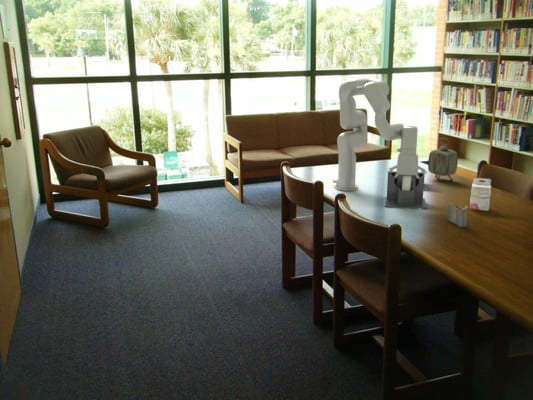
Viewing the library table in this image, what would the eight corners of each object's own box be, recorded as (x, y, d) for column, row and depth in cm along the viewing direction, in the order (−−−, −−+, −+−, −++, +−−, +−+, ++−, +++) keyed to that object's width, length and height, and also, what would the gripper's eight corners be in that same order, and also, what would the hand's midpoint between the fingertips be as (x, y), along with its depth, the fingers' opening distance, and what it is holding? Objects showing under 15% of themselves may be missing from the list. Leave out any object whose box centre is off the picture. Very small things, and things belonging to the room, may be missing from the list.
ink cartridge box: (469, 209, 259) (472, 179, 255) (469, 206, 264) (472, 177, 260) (488, 210, 257) (492, 181, 252) (488, 208, 261) (491, 178, 257)
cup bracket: (384, 198, 279) (385, 170, 275) (424, 200, 275) (426, 171, 271) (384, 207, 265) (386, 177, 261) (426, 208, 261) (428, 179, 257)
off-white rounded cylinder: (399, 198, 267) (401, 175, 263) (403, 196, 270) (405, 173, 266) (407, 200, 265) (409, 177, 260) (410, 198, 268) (412, 175, 263)
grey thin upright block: (467, 227, 236) (469, 206, 233) (460, 228, 235) (462, 206, 232) (453, 219, 246) (454, 199, 244) (447, 220, 246) (448, 199, 243)
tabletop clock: (456, 181, 310) (459, 138, 303) (445, 183, 306) (449, 140, 298) (435, 176, 322) (438, 135, 315) (425, 178, 317) (428, 137, 310)
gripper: (390, 152, 259) (388, 186, 264) (427, 153, 256) (424, 188, 261) (389, 149, 266) (388, 183, 271) (426, 150, 263) (423, 184, 268)
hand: (406, 185), depth 266 cm, fingers open, 9 cm apart
